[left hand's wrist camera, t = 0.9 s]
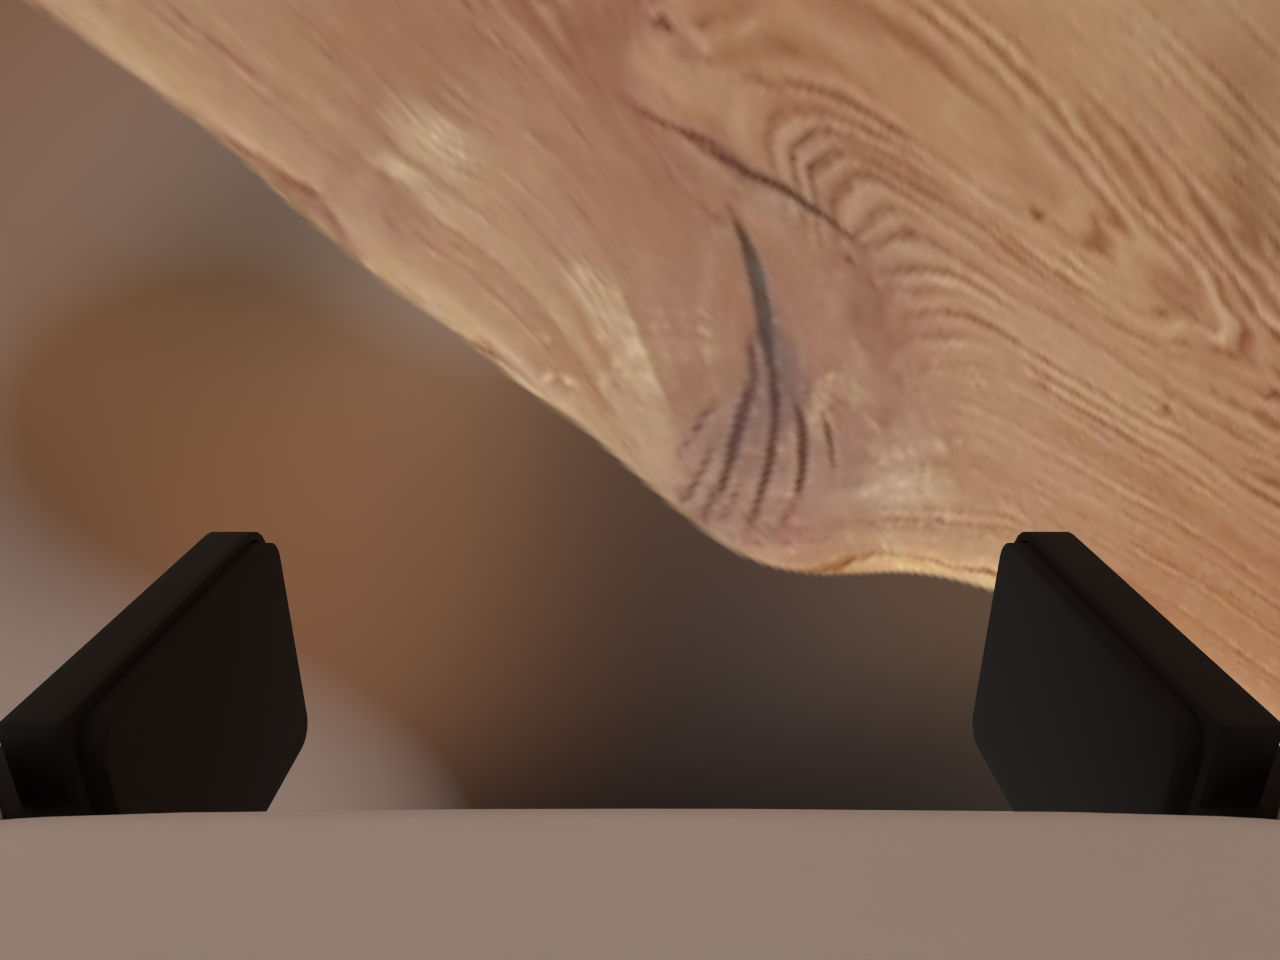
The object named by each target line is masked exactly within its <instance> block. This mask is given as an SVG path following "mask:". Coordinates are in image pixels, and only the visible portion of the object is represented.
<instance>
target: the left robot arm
mask: <svg viewBox="0 0 1280 960" xmlns="http://www.w3.org/2000/svg"><path fill="white" fill-rule="evenodd" d="M306 733H307V713H306V707H305V701H304V695H303V689H302V683H301V677H300V672H299V666H298V660H297V654H296V648H295V642H294V636H293V631H292V625H291V619H290V613H289V607H288V601H287V595H286V589H285V583H284V578H283V572H282V566H281V560H280V555H279V551H278V549H277V547H276V545H274V544H273V543H265V541H264V539H263V537H262V535H260V534H259V533H258V532H211V533H209V534H207V535H206V536H205V537H204V538H202V539H201V540H200V541H199V542H198V543H197V544H196V545H195V546H194V547H192V548H191V549H190V550H189V551H188V552H187V553H186V554H185V555H184V556H183V557H181V558H180V559H179V560H178V561H177V562H176V563H175V564H174V565H173V566H172V567H170V568H169V569H168V570H167V571H166V572H165V573H164V574H163V575H162V576H160V577H159V578H158V579H157V580H156V581H155V582H154V583H153V584H152V585H151V586H149V587H148V588H147V589H146V590H145V591H144V592H143V593H142V594H141V595H140V596H138V597H137V598H136V599H135V600H134V601H133V602H132V603H131V604H130V605H128V606H127V607H126V608H125V609H124V610H123V611H122V612H121V613H120V614H119V615H117V616H116V617H115V618H114V619H113V620H112V621H111V622H110V623H109V624H108V625H106V626H105V627H104V628H103V629H102V630H101V631H100V632H99V633H98V634H96V635H95V636H94V637H93V638H92V639H91V640H90V641H89V642H88V643H87V644H85V645H84V646H83V647H82V648H81V649H80V650H79V651H78V652H77V653H76V654H74V655H73V656H72V657H71V658H70V659H69V660H68V661H67V662H66V663H64V664H63V665H62V666H61V667H60V668H59V669H58V670H57V671H56V672H55V673H53V674H52V675H51V676H50V677H49V678H48V679H47V680H46V681H45V682H43V683H42V684H41V685H40V686H39V687H38V688H37V689H36V690H35V691H34V692H32V693H31V694H30V695H29V696H28V697H27V698H26V699H25V700H24V701H23V702H21V703H20V704H19V705H18V706H17V707H16V708H15V709H14V710H13V711H11V712H10V713H9V714H8V715H7V716H6V717H5V718H4V719H3V720H2V721H0V743H1V746H0V960H1280V746H1279V743H1280V721H1278V720H1277V719H1276V718H1275V717H1274V716H1273V715H1272V714H1271V713H1270V712H1269V711H1267V710H1266V709H1265V708H1264V707H1263V706H1262V705H1261V704H1260V703H1259V702H1257V701H1256V700H1255V699H1254V698H1253V697H1252V696H1251V695H1250V694H1249V693H1248V692H1246V691H1245V690H1244V689H1243V688H1242V687H1241V686H1240V685H1239V684H1238V683H1237V682H1235V681H1234V680H1233V679H1232V678H1231V677H1230V676H1229V675H1228V674H1227V673H1225V672H1224V671H1223V670H1222V669H1221V668H1220V667H1219V666H1218V665H1217V664H1216V663H1214V662H1213V661H1212V660H1211V659H1210V658H1209V657H1208V656H1207V655H1206V654H1205V653H1203V652H1202V651H1201V650H1200V649H1199V648H1198V647H1197V646H1196V645H1195V644H1193V643H1192V642H1191V641H1190V640H1189V639H1188V638H1187V637H1186V636H1185V635H1184V634H1182V633H1181V632H1180V631H1179V630H1178V629H1177V628H1176V627H1175V626H1174V625H1173V624H1171V623H1170V622H1169V621H1168V620H1167V619H1166V618H1165V617H1164V616H1163V615H1161V614H1160V613H1159V612H1158V611H1157V610H1156V609H1155V608H1154V607H1153V606H1152V605H1150V604H1149V603H1148V602H1147V601H1146V600H1145V599H1144V598H1143V597H1142V596H1140V595H1139V594H1138V593H1137V592H1136V591H1135V590H1134V589H1133V588H1132V587H1131V586H1129V585H1128V584H1127V583H1126V582H1125V581H1124V580H1123V579H1122V578H1121V577H1120V576H1118V575H1117V574H1116V573H1115V572H1114V571H1113V570H1112V569H1111V568H1110V567H1108V566H1107V565H1106V564H1105V563H1104V562H1103V561H1102V560H1101V559H1100V558H1099V557H1097V556H1096V555H1095V554H1094V553H1093V552H1092V551H1091V550H1090V549H1089V548H1088V547H1086V546H1085V545H1084V544H1083V543H1082V542H1081V541H1080V540H1079V539H1078V538H1076V537H1075V536H1074V535H1073V534H1071V533H1069V532H1022V533H1021V534H1020V535H1018V537H1017V539H1016V541H1015V543H1007V544H1006V545H1004V547H1003V549H1002V551H1001V555H1000V560H999V566H998V572H997V577H996V583H995V589H994V595H993V601H992V607H991V613H990V619H989V625H988V630H987V636H986V642H985V648H984V654H983V660H982V666H981V672H980V677H979V683H978V689H977V695H976V701H975V707H974V713H973V733H974V738H975V742H976V744H977V746H978V749H979V750H980V752H981V754H982V756H983V757H984V759H985V761H986V763H987V765H988V766H989V768H990V770H991V772H992V774H993V775H994V777H995V779H996V781H997V783H998V784H999V786H1000V788H1001V790H1002V791H1003V793H1004V795H1005V797H1006V799H1007V800H1008V802H1009V804H1010V806H1011V808H1012V809H1013V812H1012V811H900V810H899V811H897V810H784V809H463V810H462V809H461V810H370V811H280V812H266V811H267V809H268V808H269V806H270V804H271V802H272V800H273V799H274V797H275V795H276V793H277V791H278V790H279V788H280V786H281V784H282V783H283V781H284V779H285V777H286V775H287V774H288V772H289V770H290V768H291V766H292V765H293V763H294V761H295V759H296V757H297V756H298V754H299V752H300V750H301V748H302V746H303V744H304V741H305V738H306Z"/></svg>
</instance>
